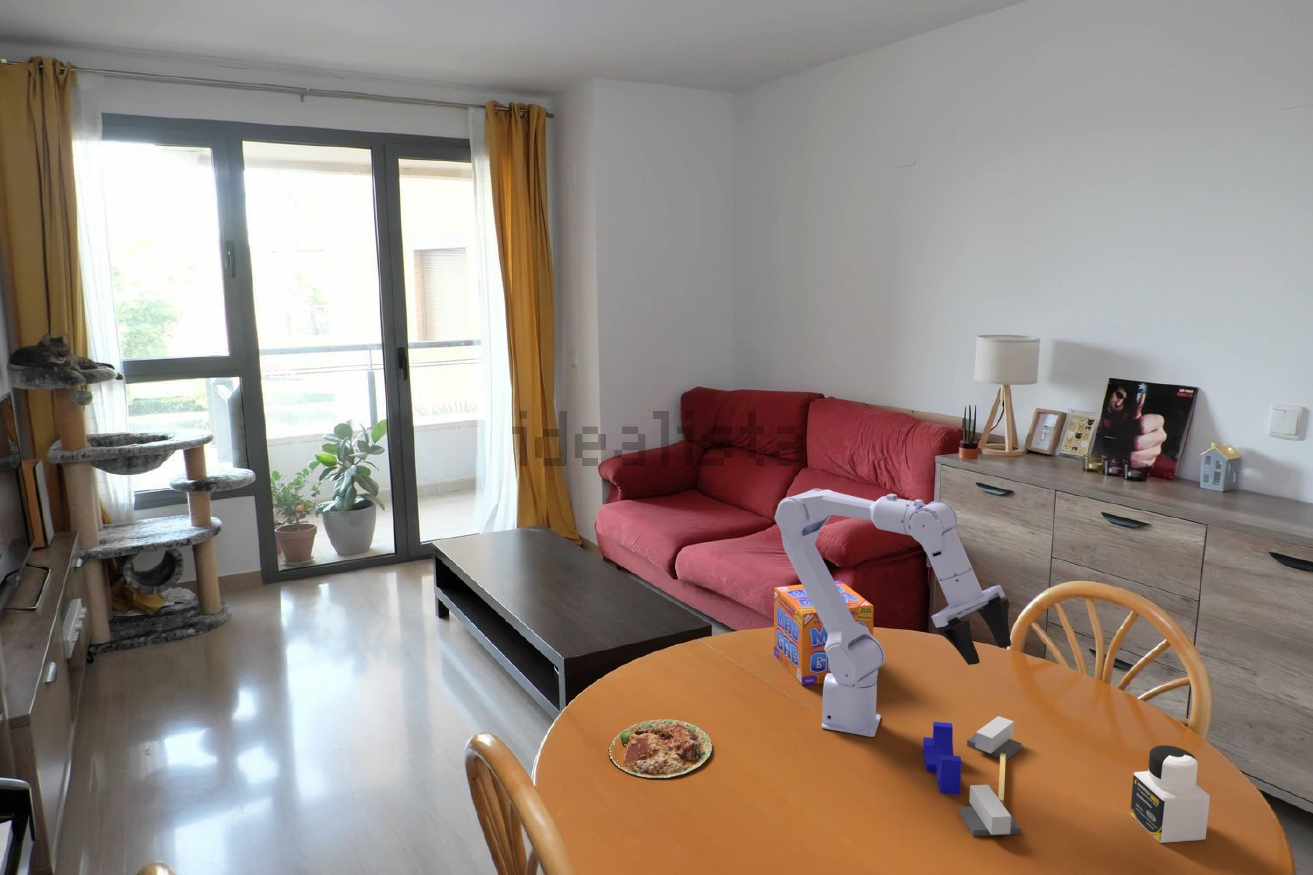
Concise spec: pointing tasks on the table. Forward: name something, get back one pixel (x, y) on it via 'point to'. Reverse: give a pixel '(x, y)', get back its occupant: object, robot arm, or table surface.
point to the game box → (809, 630)
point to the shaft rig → (986, 806)
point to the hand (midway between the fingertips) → (990, 654)
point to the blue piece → (943, 758)
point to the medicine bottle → (1170, 797)
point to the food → (663, 747)
